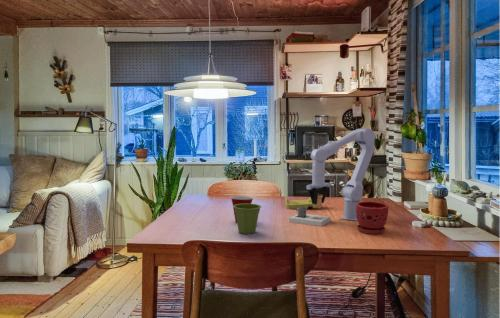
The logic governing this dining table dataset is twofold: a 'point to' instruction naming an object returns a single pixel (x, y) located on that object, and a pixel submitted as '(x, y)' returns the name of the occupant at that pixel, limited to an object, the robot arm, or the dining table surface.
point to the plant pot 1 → (247, 217)
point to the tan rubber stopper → (318, 201)
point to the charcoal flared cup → (302, 212)
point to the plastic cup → (240, 202)
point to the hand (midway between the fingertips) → (317, 203)
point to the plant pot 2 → (371, 217)
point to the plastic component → (298, 203)
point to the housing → (310, 220)
